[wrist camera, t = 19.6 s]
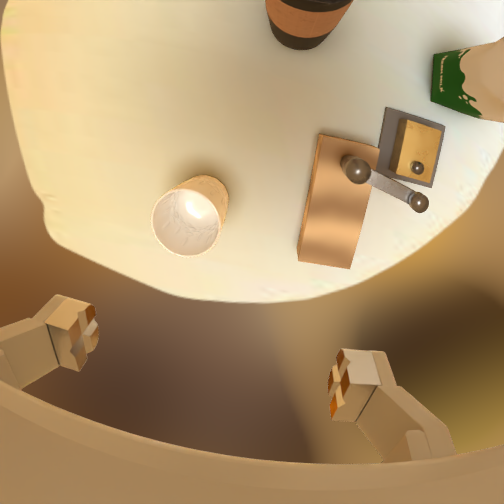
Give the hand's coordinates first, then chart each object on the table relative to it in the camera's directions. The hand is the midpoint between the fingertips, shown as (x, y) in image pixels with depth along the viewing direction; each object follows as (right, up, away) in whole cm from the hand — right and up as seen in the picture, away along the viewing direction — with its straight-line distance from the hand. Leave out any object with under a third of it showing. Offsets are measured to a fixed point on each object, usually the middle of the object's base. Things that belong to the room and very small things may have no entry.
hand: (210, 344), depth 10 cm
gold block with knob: (+22, +16, +27) cm, 39 cm away
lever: (+16, +11, +24) cm, 30 cm away
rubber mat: (+22, +17, +28) cm, 39 cm away
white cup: (-5, +10, +34) cm, 36 cm away
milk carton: (+29, +26, +23) cm, 45 cm away
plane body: (+12, +10, +32) cm, 36 cm away
